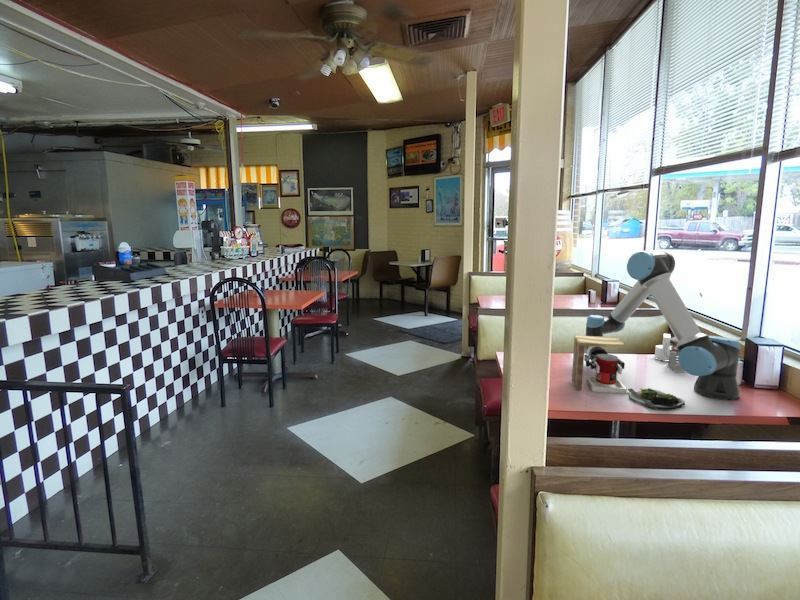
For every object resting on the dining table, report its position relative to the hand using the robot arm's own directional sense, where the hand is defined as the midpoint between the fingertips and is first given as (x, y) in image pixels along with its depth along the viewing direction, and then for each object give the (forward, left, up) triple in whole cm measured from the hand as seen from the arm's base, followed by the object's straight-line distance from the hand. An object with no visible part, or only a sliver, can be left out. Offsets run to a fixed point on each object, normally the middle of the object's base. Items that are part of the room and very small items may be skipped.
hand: (609, 370), depth 184 cm
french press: (+13, -51, -9) cm, 54 cm away
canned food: (+4, -2, -7) cm, 8 cm away
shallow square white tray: (+4, -2, -9) cm, 10 cm away
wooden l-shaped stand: (+6, +1, -9) cm, 11 cm away
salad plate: (-15, -9, -9) cm, 20 cm away
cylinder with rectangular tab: (+26, -59, -9) cm, 65 cm away
